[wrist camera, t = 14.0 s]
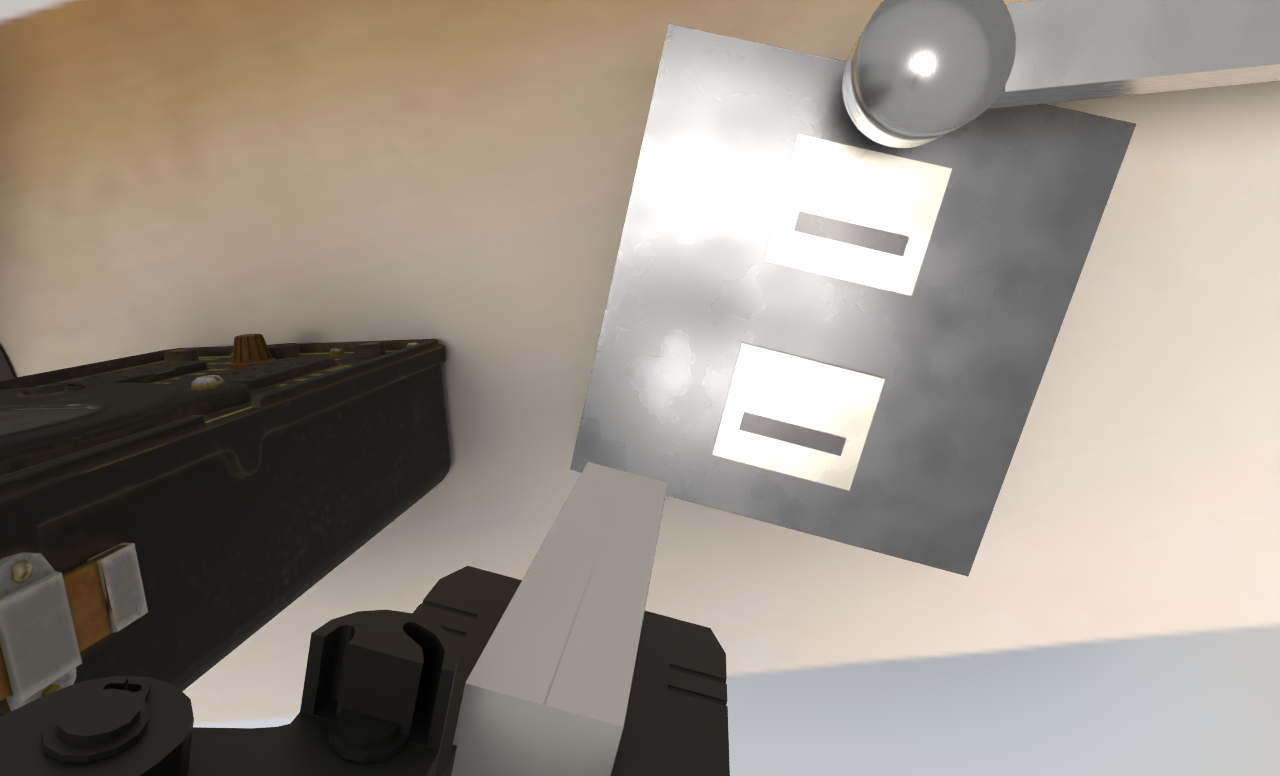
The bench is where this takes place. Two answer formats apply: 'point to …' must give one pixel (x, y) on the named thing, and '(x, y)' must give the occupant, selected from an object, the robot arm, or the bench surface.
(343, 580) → the bench surface
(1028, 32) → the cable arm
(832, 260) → the grey slotted box
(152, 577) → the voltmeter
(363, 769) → the robot arm
